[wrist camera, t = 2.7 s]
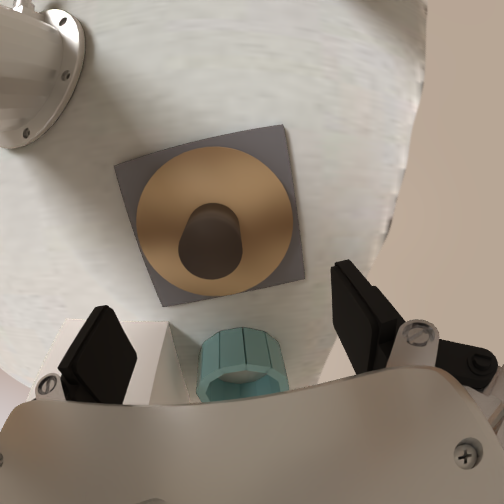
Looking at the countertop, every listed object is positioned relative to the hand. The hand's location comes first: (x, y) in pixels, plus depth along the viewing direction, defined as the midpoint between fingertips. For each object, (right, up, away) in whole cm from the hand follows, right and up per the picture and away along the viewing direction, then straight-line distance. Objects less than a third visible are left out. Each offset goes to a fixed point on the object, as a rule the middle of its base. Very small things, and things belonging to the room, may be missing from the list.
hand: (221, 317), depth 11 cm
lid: (-1, +5, +9) cm, 10 cm away
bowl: (0, -8, +15) cm, 17 cm away
